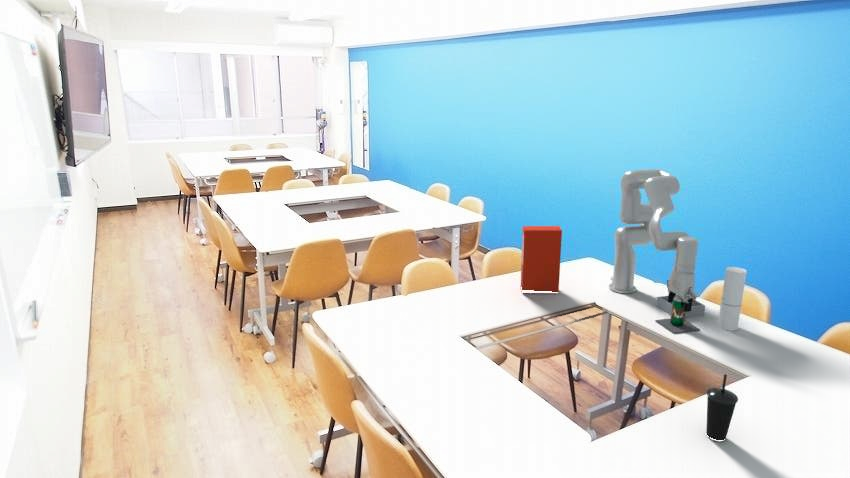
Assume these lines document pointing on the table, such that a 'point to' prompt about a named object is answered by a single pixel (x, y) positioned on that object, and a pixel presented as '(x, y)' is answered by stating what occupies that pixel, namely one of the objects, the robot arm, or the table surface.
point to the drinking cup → (720, 411)
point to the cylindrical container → (731, 298)
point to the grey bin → (696, 310)
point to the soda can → (677, 311)
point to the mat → (677, 329)
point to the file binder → (541, 258)
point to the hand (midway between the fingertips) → (679, 306)
